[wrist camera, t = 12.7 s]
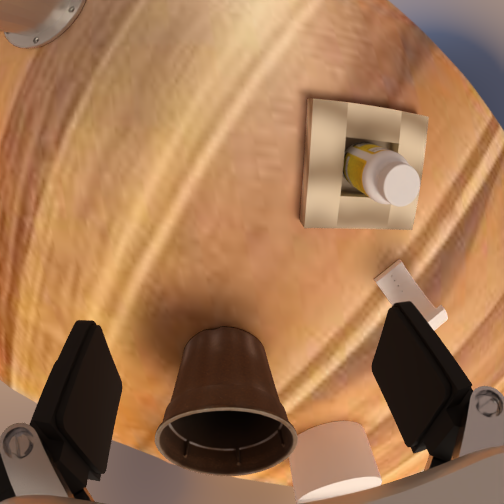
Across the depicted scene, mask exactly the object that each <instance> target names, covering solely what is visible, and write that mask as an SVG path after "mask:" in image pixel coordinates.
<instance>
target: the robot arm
mask: <svg viewBox="0 0 504 504" xmlns="http://www.w3.org/2000/svg"><path fill="white" fill-rule="evenodd" d="M85 1H86V0H0V31H3V32H4V34H5V37H6V38H7V40H8V41H9V42H10V43H11V44H13V45H14V46H17V47H19V48H26V49H29V48H37V47H41V46H43V45H45V44H47V43H50V42H51V41H53V40H54V39H56V38H57V37H58V36H60V35H61V34H62V33H63V32H64V31H66V29H67V28H68V27H69V26H70V25H71V24H72V23H73V22H74V20H75V19H76V18H77V16H78V15H79V13H80V11H81V10H82V8H83V6H84V4H85ZM372 372H373V374H374V377H375V379H376V381H377V383H378V385H379V387H380V389H381V391H382V393H383V396H384V398H385V400H386V402H387V404H388V406H389V409H390V411H391V413H392V415H393V417H394V419H395V422H396V424H397V426H398V428H399V431H400V433H401V435H402V437H403V440H404V442H405V444H406V445H407V447H411V449H412V451H413V453H417V452H420V451H423V450H425V449H427V450H428V452H429V458H428V461H427V463H426V466H425V469H424V471H423V472H420V473H417V474H414V475H411V476H408V477H405V478H402V479H399V480H396V481H393V482H390V483H387V484H384V485H380V486H377V487H373V488H370V489H366V490H362V491H358V492H354V493H350V494H346V495H342V496H337V497H333V498H328V499H323V500H317V501H312V502H306V503H300V504H504V396H503V395H502V394H501V393H500V392H499V391H498V390H496V389H494V388H492V387H488V386H482V387H478V388H476V389H475V390H474V391H473V390H472V388H471V386H472V384H471V382H470V381H469V379H468V378H467V376H466V375H465V373H464V372H463V370H462V369H461V367H460V366H459V365H458V363H457V362H456V360H455V359H454V357H453V356H452V355H451V353H450V352H449V350H448V349H447V348H446V346H445V345H444V344H443V342H442V341H441V339H440V338H439V337H438V335H437V334H436V333H435V331H434V330H433V329H432V327H431V326H430V325H429V323H428V322H427V321H426V319H425V318H424V317H423V316H422V314H421V313H420V312H419V310H418V309H417V308H416V307H415V305H414V304H413V303H412V302H411V301H405V302H398V303H394V304H393V306H392V308H390V309H389V310H388V313H387V317H386V320H385V324H384V327H383V330H382V334H381V337H380V340H379V343H378V347H377V350H376V353H375V356H374V359H373V362H372ZM121 393H122V381H121V378H120V376H119V374H118V371H117V369H116V366H115V364H114V361H113V359H112V356H111V353H110V351H109V348H108V345H107V343H106V340H105V337H104V334H103V332H102V329H101V327H100V326H99V325H96V323H95V322H94V321H86V320H78V321H76V322H75V324H74V326H73V328H72V330H71V332H70V334H69V336H68V339H67V341H66V343H65V345H64V347H63V349H62V351H61V353H60V356H59V358H58V360H57V361H56V362H55V364H54V366H53V368H52V371H51V373H50V375H49V377H48V380H47V382H46V384H45V387H44V389H43V392H42V394H41V397H40V399H39V402H38V404H37V407H36V409H35V412H34V414H33V417H32V420H31V423H30V425H28V424H25V423H16V424H13V425H11V426H9V427H8V428H6V430H5V431H4V432H3V433H2V435H1V437H0V504H104V503H98V502H95V501H94V500H93V498H92V497H91V495H90V493H89V492H88V490H87V489H86V485H87V479H90V480H96V481H100V477H101V474H104V473H105V471H106V468H107V462H108V456H109V450H110V445H111V440H112V435H113V430H114V425H115V420H116V415H117V410H118V406H119V401H120V397H121Z"/></svg>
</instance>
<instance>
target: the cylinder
mask: <svg viewBox="0 0 504 504" xmlns="http://www.w3.org/2000/svg"><path fill="white" fill-rule="evenodd" d="M297 437H298V441H297V445H296V448H295V450H294V451H293V453H292V454H291V455H290V456H289V462H290V468H291V474H292V480H293V486H294V492H295V498H296V504H300V503H306V502H312V501H317V500H323V499H328V498H333V497H337V496H342V495H346V494H350V493H354V492H358V491H362V490H366V489H370V488H373V487H377V486H380V485H381V483H382V479H381V476H380V473H379V470H378V467H377V464H376V461H375V458H374V455H373V453H372V450H371V447H370V444H369V441H368V438H367V436H366V433H365V430H364V428H363V426H362V425H360V424H359V423H357V422H352V421H336V422H329V423H325V424H322V425H318V426H315V427H313V428H310V429H308V430H306V431H304V432H302V433H300V434H299V435H297Z"/></svg>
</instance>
